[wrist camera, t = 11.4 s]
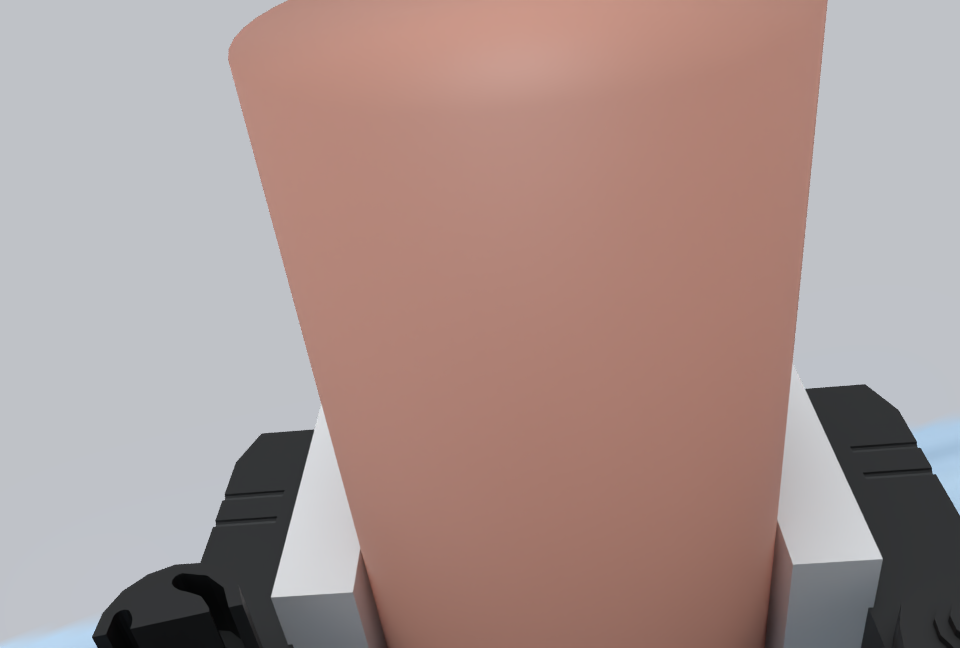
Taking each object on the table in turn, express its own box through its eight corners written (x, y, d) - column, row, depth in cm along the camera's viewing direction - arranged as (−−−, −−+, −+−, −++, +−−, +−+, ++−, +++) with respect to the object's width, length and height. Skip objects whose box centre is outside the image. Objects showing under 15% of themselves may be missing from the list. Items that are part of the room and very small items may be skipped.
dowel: (750, 842, 15) (844, -74, 7) (710, 1146, 12) (798, 123, 4) (520, 772, 16) (387, -54, 8) (431, 1025, 13) (99, 101, 5)
